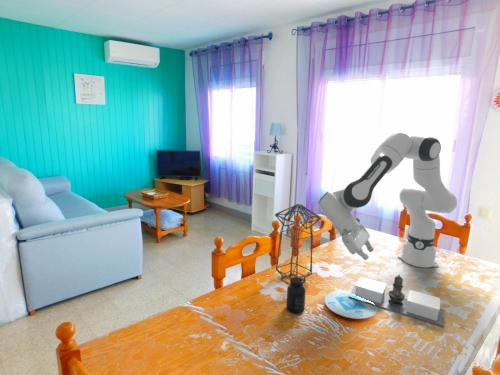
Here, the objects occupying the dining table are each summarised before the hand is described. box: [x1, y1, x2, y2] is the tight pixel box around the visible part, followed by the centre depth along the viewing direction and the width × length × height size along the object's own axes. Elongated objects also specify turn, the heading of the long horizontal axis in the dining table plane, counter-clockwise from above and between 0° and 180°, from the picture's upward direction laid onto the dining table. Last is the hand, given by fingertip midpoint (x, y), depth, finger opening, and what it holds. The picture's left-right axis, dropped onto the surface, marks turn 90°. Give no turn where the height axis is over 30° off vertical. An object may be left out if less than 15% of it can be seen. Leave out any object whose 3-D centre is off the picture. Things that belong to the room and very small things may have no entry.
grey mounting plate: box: [350, 276, 445, 328], centre depth 123 cm, size 12×33×5 cm, turn 58°
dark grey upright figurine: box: [388, 274, 406, 307], centre depth 122 cm, size 6×6×12 cm
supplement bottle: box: [286, 276, 307, 315], centre depth 117 cm, size 7×7×12 cm
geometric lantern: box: [274, 203, 323, 285], centre depth 137 cm, size 16×16×35 cm
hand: (369, 254), depth 126 cm, fingers open, 8 cm apart
